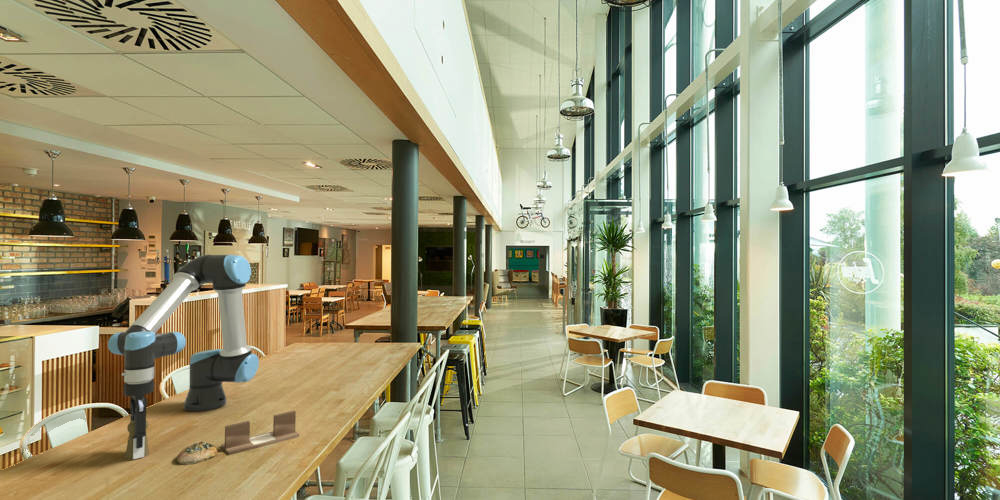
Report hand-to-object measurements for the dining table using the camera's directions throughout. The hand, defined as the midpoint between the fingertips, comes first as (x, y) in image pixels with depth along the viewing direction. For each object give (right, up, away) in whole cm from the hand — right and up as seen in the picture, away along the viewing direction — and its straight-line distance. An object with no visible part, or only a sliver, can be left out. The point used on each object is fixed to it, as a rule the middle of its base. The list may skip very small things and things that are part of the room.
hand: (137, 454), depth 144 cm
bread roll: (+20, -1, -1) cm, 20 cm away
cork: (0, -1, 0) cm, 1 cm away
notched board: (+33, -1, +12) cm, 35 cm away
